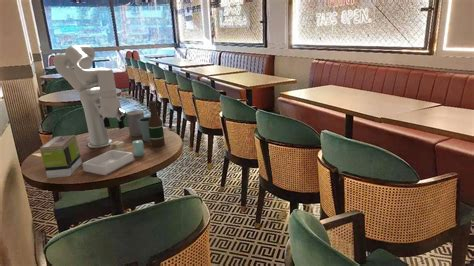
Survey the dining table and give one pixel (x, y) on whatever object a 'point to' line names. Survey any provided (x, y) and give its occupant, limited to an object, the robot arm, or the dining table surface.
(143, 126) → the drinking glass
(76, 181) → the dining table surface
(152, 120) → the beer bottle
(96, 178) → the dining table surface
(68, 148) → the tea box
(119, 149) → the maple cube
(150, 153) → the dining table surface
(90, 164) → the white tray
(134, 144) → the teal cylinder
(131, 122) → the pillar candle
